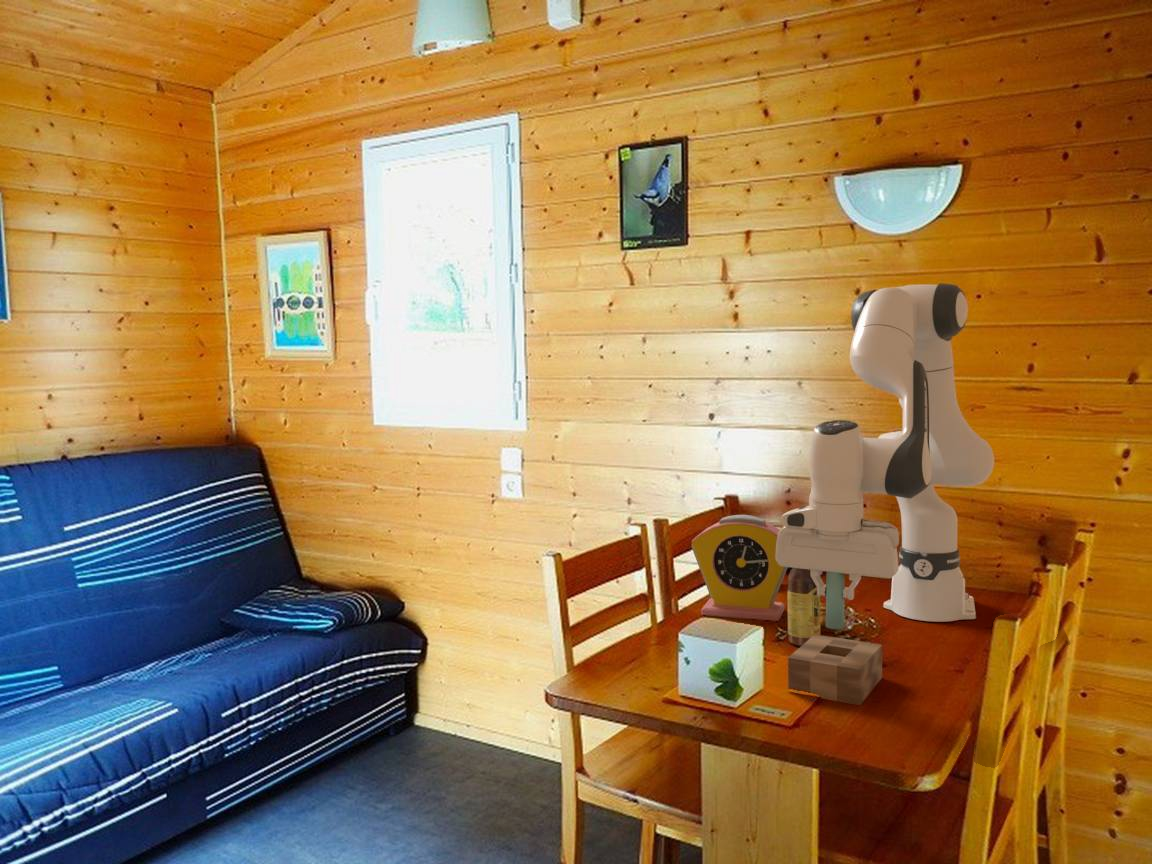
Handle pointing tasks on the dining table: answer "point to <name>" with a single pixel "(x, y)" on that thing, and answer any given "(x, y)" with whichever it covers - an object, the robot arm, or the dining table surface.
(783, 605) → the yellow mantel clock
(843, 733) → the dining table surface
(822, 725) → the dining table surface
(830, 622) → the peg
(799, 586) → the sauce bottle
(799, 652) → the hole block
